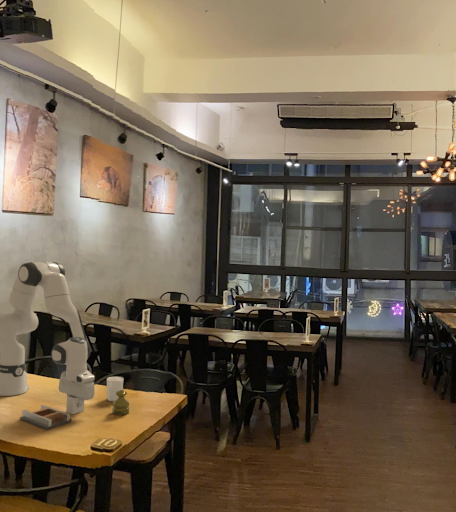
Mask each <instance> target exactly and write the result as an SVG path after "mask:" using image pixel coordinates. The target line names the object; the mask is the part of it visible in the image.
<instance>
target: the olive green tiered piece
mask: <svg viewBox="0 0 456 512" xmlns="http://www.w3.org/2000/svg"><path fill="white" fill-rule="evenodd" d="M127 394H128V392H127V391H126V390H124V389H123V390H119V391H117V392H116V395H117V396H118V399H117V400H116V401H112V404H111V405H112V410H111V411H112V414H113V415H116V416H125V415H128V414H129V413H130V407H129V406H130V402H129V400H127V399H126V395H127Z"/></svg>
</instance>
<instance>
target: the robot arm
mask: <svg viewBox="0 0 456 512" xmlns="http://www.w3.org/2000/svg"><path fill="white" fill-rule="evenodd" d="M39 286H40V287H42V289H43V296H44V297H43V299H44V305H45V309H46V311H47V312H48V313H49V314H50V315H52V316H54V317H57V318H61V319H63V320H64V321H66V322H67V323H68V324H69V327H70V331H71V334H72V337H69V339H68V340H66V341H63V342H59V343H57V344H54V345H53V347H52V349H51V352H50V355H51V356H50V357H51V359H52V362H53V363H55V364H56V365H61V366H62V365H66V369H65V371H62V372H61V373H60V378H59V382H58V391H59V392H60V393H62V394H66V397H67V396H70V395H72V396H75V397H78V398H79V400H80V401H79V403H77V407H79V408H81V407H82V406H83V402H84V403H85V401H89V400H93V399H94V398H95V378H96V377H95V375H94V374H93V373H91V372H90V371H89V370H88V364H87V360H88V359H89V357H90V356H91V352H92V351H91V350H92V347H91V345H90V343H89V341H88V339H87V335H86V332H85V328H84V325H83V321H82V318H81V315H80V311H79V310H78V308H77V307H76V306H75V305H74V304H73V302H72V300H71V295H70V289H69V284H68V282H67V279H66V271H65V267H64V266H63V264H61V263H59V262H55V261H52V262H51V261H38V262H37V261H35V262H34V261H33V262H32V261H31V262H30V261H29V262H26V263H23V264H21V265H20V266H19V269H18V272H17V274H16V277H15V280H14V281H13V284H12V288H11V291H10V294H9V298H8V302H9V305H10V306H12V307H13V308H14V311H12V312H11V313H10V312H9V313H2V314H1V313H0V396H1V397H2V396H5V397H8V396H9V397H10V396H18V395H22V394H24V393H26V392H28V389H30V385H28V375H27V371H26V367H27V365H26V362H25V359H26V356H25V355H26V353H25V352H26V348H25V346H24V344H22V343H21V342H18V340H17V336H19V335H26V334H29V333H31V332H33V331H36V329H37V328H38V326H39V318H38V316H37V314H36V313H35V312H34V310H33V309H34V308H33V307H34V301H35V298H36V294H37V291H38V287H39Z"/></svg>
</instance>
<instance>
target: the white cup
mask: <svg viewBox="0 0 456 512" xmlns="http://www.w3.org/2000/svg"><path fill="white" fill-rule="evenodd" d="M119 390H124V377H123V376H110V377H107V378H106V394H107V395H106V396H107V401H109V402H114V401H116V400H117V399H118V396H117V395H116V392H117V391H119Z"/></svg>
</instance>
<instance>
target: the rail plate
mask: <svg viewBox="0 0 456 512" xmlns="http://www.w3.org/2000/svg"><path fill="white" fill-rule="evenodd" d="M21 413H22V414H21V415H22V416H20V417H19V420H20V421H23V422H25V423H27V424H30V425H32V426H35V427H38V428H40V429H43V430H44V431H48V430H51V429H54V428H57V427H60V426H62V425H63V426H64V425H66V424H69V423H71V422H72V419H71V418H70V417H71V416H70V415H71V414H70V413H67V412H65V411H61V410H59V409H57V408H54V407H50V406H47V405H45V404H41V405H40V409H39V410H35V411H28V410H26V409H24V410H22V411H21Z"/></svg>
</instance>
